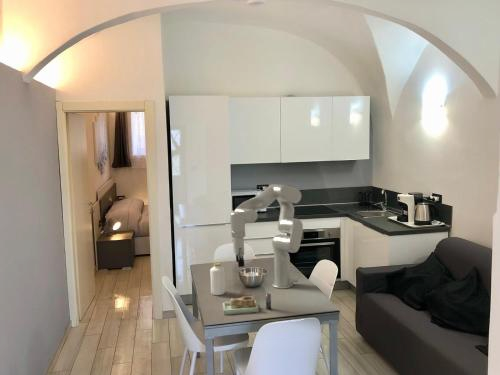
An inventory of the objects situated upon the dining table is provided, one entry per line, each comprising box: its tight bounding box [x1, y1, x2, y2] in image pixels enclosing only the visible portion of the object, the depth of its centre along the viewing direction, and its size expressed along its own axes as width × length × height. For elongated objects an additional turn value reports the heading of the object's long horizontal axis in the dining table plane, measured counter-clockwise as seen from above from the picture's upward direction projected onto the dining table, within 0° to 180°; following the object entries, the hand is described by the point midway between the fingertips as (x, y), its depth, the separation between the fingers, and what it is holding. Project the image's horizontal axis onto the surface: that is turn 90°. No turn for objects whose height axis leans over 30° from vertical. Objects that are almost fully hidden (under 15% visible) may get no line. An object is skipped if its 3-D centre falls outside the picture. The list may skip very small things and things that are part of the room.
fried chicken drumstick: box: [230, 295, 255, 309], centre depth 241 cm, size 12×6×5 cm, turn 97°
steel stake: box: [265, 293, 272, 311], centre depth 240 cm, size 3×3×8 cm
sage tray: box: [221, 299, 259, 316], centre depth 241 cm, size 18×12×2 cm, turn 98°
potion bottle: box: [209, 262, 226, 296], centre depth 266 cm, size 8×8×18 cm
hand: (240, 264), depth 249 cm, fingers open, 9 cm apart
